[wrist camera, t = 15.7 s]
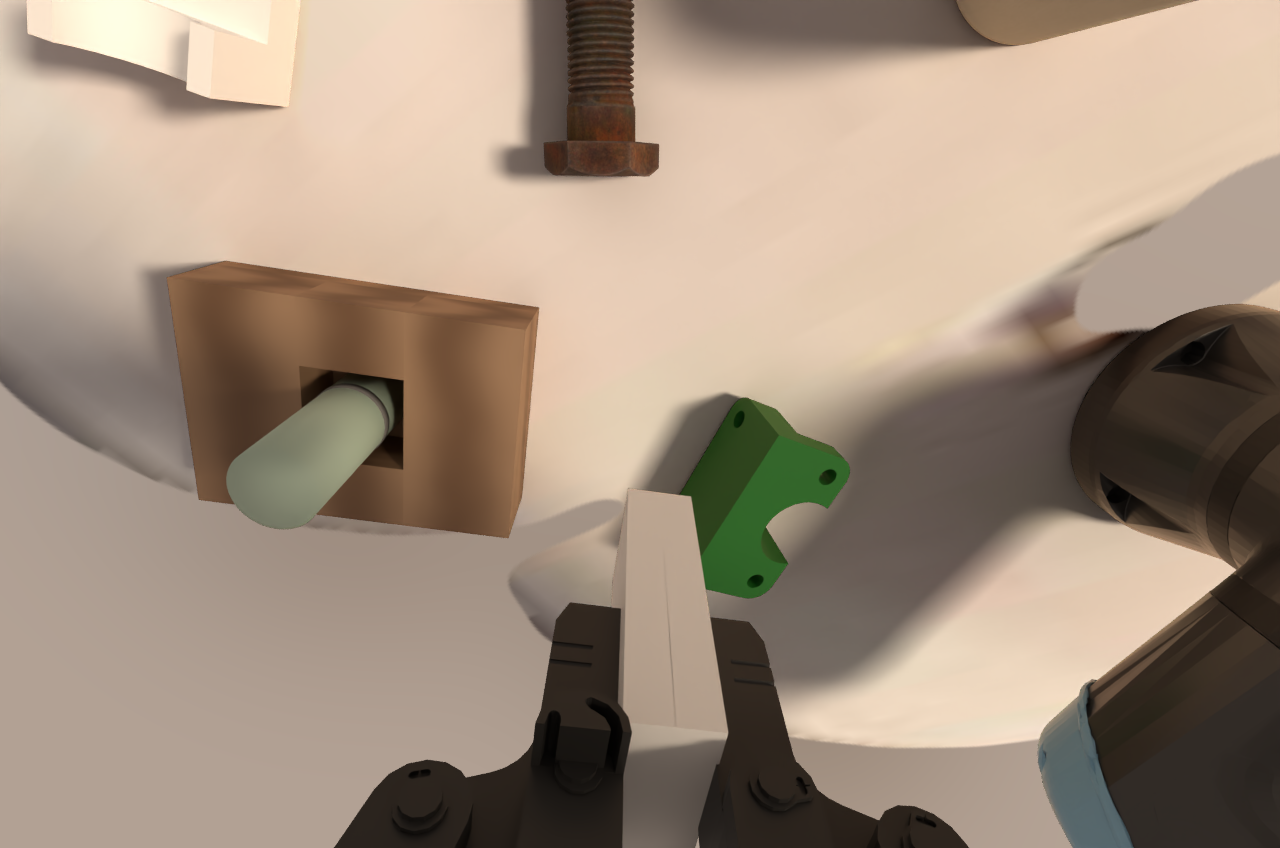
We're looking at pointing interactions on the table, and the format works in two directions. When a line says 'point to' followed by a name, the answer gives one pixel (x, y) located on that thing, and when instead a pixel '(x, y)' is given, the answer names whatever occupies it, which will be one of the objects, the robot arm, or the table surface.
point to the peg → (314, 451)
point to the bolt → (600, 96)
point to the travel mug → (1050, 16)
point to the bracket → (185, 40)
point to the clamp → (755, 494)
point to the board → (369, 345)
